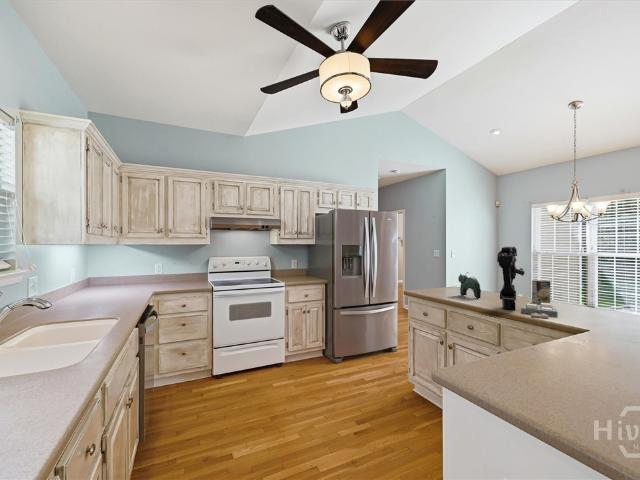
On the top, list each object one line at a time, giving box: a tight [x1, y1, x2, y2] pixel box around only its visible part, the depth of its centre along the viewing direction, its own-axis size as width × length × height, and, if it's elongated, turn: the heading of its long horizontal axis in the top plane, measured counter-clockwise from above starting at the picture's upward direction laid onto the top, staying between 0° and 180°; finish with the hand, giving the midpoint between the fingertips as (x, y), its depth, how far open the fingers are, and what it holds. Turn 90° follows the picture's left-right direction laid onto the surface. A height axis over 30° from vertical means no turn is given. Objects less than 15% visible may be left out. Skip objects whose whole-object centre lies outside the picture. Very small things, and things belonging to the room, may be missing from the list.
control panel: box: [521, 303, 558, 318], centre depth 190 cm, size 17×17×3 cm
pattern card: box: [530, 313, 549, 320], centre depth 178 cm, size 8×8×1 cm
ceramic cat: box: [457, 271, 482, 299], centre depth 245 cm, size 20×6×20 cm, turn 17°
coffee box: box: [531, 279, 551, 305], centre depth 216 cm, size 9×6×16 cm
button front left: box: [526, 303, 538, 309], centre depth 189 cm, size 5×5×2 cm
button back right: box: [540, 302, 552, 308], centre depth 190 cm, size 5×5×2 cm
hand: (510, 286), depth 210 cm, fingers closed
